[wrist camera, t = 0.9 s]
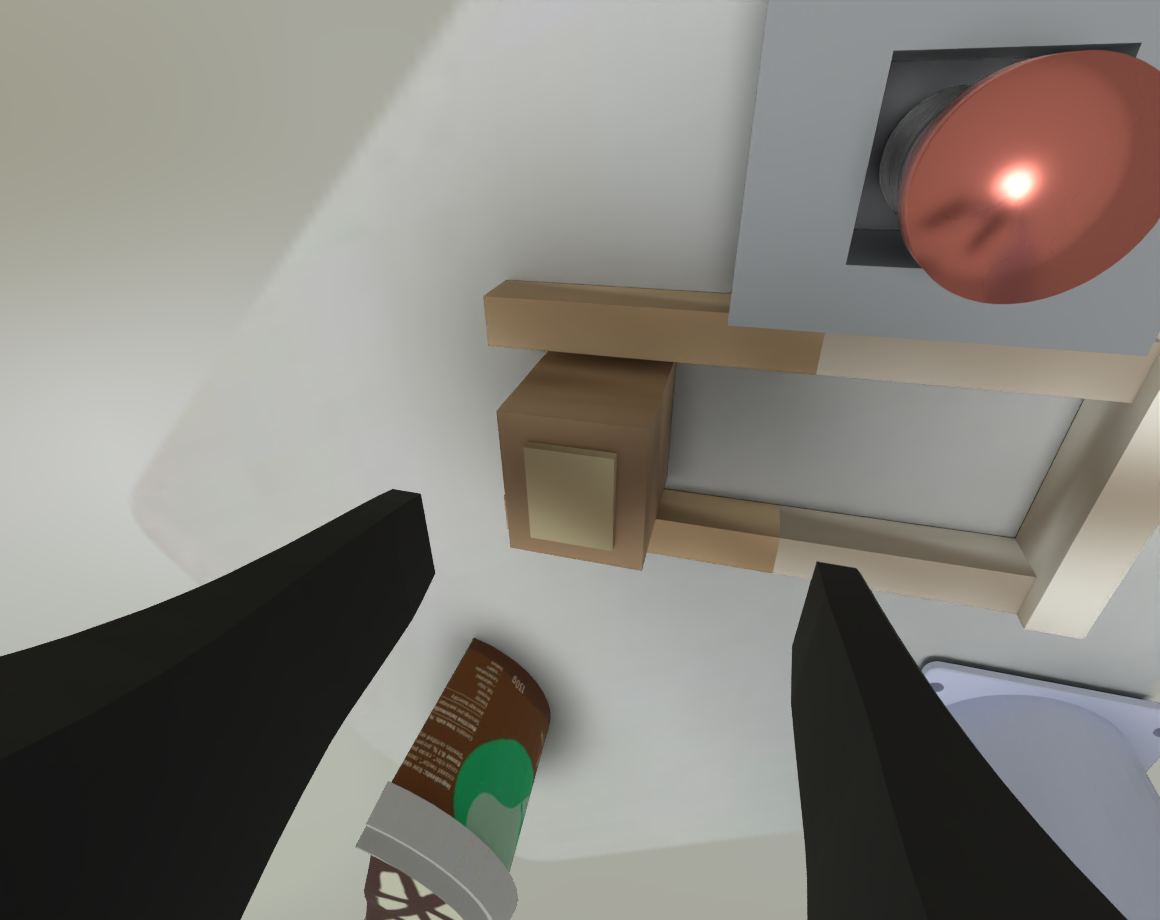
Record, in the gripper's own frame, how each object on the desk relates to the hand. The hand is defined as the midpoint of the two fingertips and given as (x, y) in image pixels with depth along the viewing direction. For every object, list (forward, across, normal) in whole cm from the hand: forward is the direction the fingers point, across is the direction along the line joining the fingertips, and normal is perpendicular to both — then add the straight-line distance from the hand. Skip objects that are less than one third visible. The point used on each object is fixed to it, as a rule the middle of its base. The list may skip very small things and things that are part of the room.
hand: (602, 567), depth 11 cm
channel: (+9, -4, +2) cm, 10 cm away
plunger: (+7, -5, -6) cm, 11 cm away
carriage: (+10, +2, +2) cm, 10 cm away
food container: (+10, +7, +20) cm, 24 cm away
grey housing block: (+10, -6, -6) cm, 13 cm away
